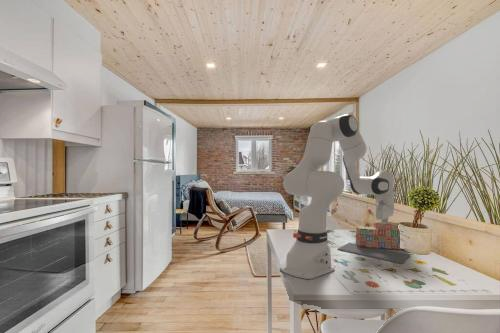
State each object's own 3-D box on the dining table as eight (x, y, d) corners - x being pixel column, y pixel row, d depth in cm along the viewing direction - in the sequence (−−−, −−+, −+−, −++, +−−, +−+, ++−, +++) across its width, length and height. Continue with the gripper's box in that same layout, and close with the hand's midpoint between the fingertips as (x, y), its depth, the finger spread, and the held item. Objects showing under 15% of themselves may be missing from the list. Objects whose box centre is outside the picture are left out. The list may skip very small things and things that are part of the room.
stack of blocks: (359, 247, 124) (359, 222, 125) (355, 244, 131) (355, 220, 131) (404, 249, 122) (404, 224, 123) (398, 246, 129) (398, 222, 129)
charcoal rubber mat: (402, 264, 103) (402, 262, 103) (337, 249, 123) (337, 248, 123) (409, 255, 114) (409, 254, 114) (349, 243, 134) (349, 242, 134)
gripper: (385, 202, 125) (385, 229, 124) (395, 199, 140) (396, 223, 139) (372, 201, 129) (372, 227, 129) (383, 198, 144) (383, 222, 144)
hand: (384, 225), depth 134 cm, fingers closed
